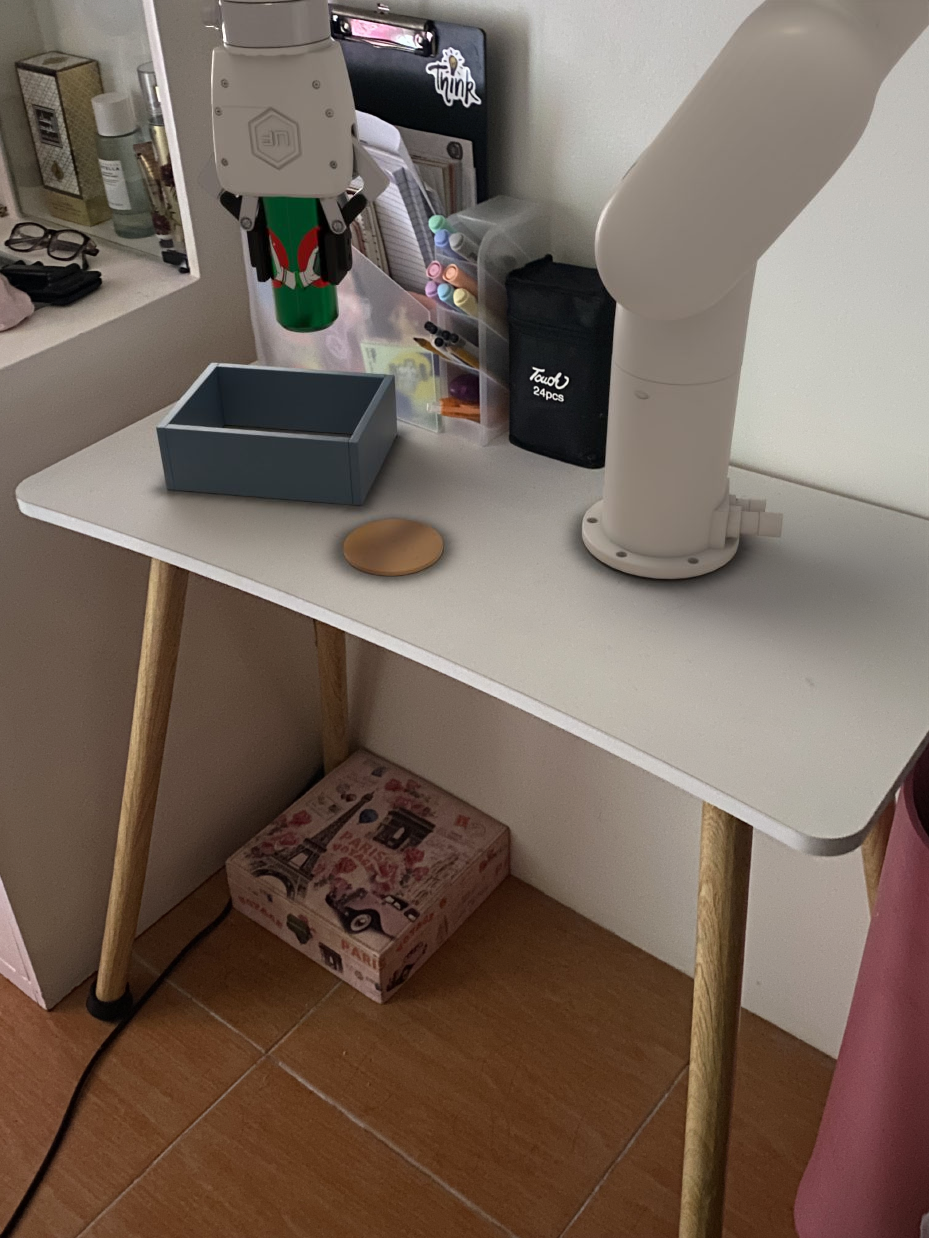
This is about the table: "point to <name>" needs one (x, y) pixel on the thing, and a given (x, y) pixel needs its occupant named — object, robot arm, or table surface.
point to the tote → (274, 459)
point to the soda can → (299, 263)
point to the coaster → (393, 547)
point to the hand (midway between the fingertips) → (303, 275)
